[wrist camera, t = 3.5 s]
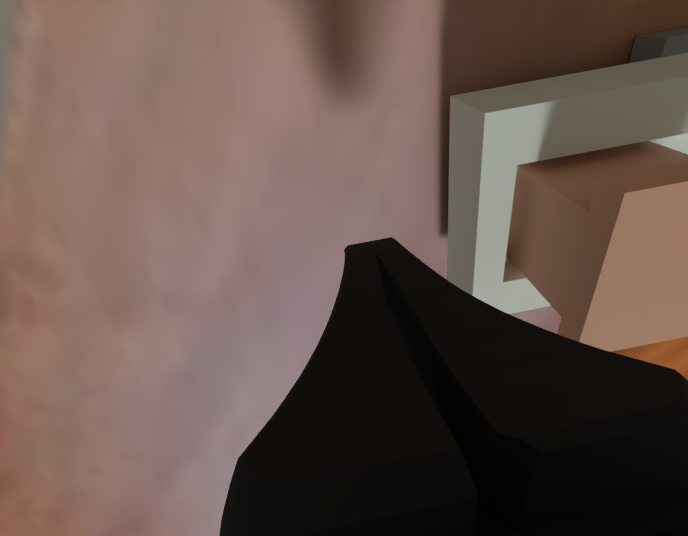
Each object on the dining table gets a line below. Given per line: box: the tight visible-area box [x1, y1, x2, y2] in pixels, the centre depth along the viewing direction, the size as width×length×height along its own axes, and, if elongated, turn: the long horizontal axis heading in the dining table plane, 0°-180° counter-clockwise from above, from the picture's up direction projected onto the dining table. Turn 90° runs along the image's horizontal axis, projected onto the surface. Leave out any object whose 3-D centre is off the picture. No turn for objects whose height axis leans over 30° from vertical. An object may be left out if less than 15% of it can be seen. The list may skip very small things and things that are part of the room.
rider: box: [506, 141, 688, 352], centre depth 10 cm, size 4×5×4 cm
